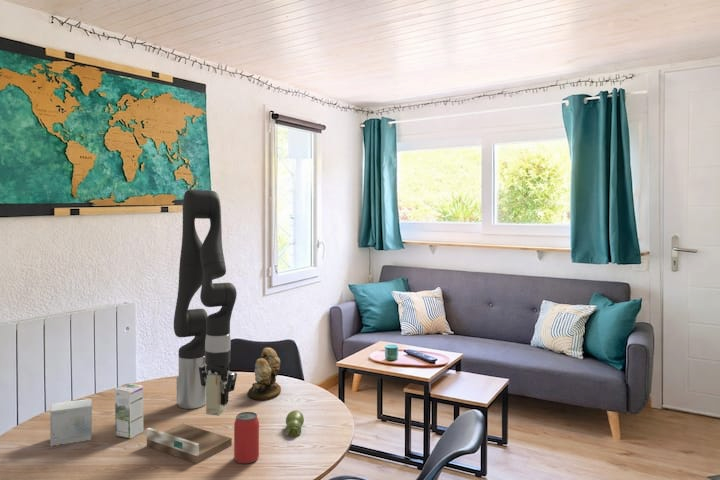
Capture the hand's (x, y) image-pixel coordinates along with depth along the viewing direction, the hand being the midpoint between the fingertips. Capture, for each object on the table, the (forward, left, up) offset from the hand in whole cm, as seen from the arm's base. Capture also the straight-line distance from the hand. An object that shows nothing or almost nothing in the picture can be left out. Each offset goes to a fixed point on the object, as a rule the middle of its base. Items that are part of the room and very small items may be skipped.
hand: (217, 402), depth 159 cm
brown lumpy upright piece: (-10, +34, -9) cm, 36 cm away
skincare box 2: (0, 0, -3) cm, 3 cm away
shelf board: (+1, -12, -9) cm, 15 cm away
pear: (+21, +12, -9) cm, 25 cm away
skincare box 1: (-31, -27, -9) cm, 42 cm away
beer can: (+21, -10, -9) cm, 25 cm away
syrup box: (-20, -16, -9) cm, 27 cm away
